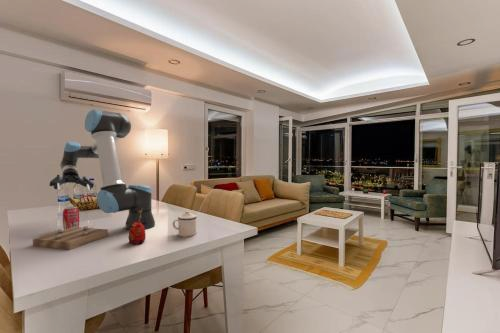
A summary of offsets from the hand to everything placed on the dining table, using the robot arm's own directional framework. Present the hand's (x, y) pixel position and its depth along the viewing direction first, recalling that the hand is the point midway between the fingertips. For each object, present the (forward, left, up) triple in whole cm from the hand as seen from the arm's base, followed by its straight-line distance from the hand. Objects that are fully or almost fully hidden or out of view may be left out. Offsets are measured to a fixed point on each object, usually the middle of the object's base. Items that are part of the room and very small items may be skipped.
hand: (74, 191), depth 136 cm
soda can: (0, +2, -20) cm, 20 cm away
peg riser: (-15, +17, -20) cm, 30 cm away
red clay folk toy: (-46, +15, -20) cm, 53 cm away
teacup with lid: (-62, 0, -20) cm, 65 cm away
